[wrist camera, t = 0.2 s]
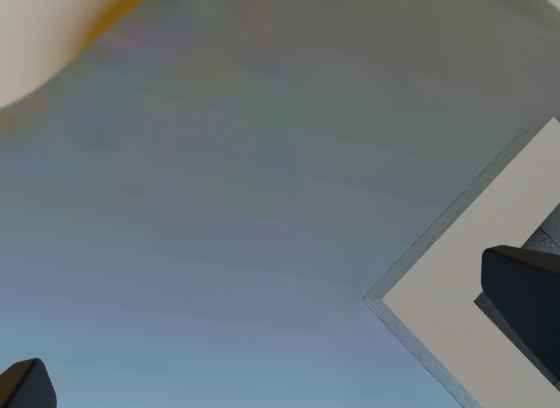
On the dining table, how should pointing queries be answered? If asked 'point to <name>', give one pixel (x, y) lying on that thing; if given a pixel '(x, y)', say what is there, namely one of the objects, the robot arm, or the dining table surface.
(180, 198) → the dining table surface
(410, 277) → the socket
